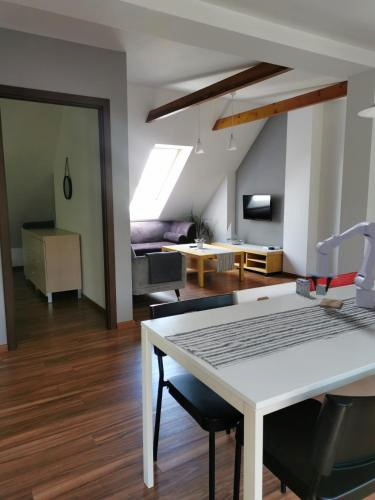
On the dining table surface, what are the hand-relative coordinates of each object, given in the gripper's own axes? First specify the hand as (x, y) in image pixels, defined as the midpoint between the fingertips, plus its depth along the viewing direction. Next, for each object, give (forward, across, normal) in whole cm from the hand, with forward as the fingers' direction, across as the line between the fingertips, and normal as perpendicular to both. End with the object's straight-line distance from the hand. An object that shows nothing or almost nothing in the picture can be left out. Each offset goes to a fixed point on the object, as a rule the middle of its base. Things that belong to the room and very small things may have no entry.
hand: (321, 291), depth 196 cm
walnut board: (+8, -4, -6) cm, 11 cm away
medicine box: (+8, +13, -22) cm, 27 cm away
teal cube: (+2, 0, 0) cm, 2 cm away
